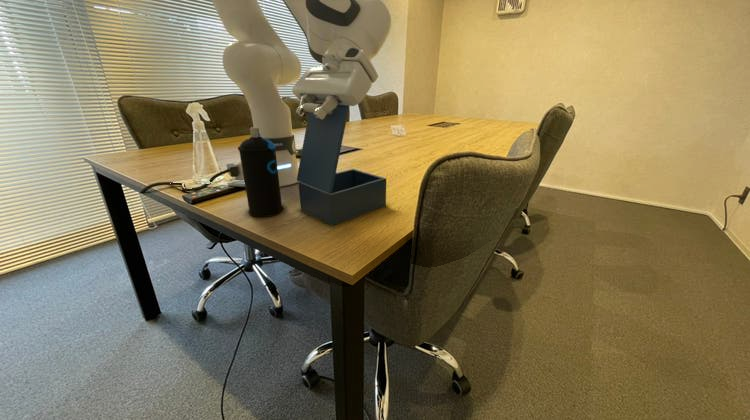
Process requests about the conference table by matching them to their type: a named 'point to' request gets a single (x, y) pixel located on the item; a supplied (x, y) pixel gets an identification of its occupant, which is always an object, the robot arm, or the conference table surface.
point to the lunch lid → (322, 147)
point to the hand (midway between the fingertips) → (308, 115)
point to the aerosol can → (260, 175)
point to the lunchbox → (344, 197)
